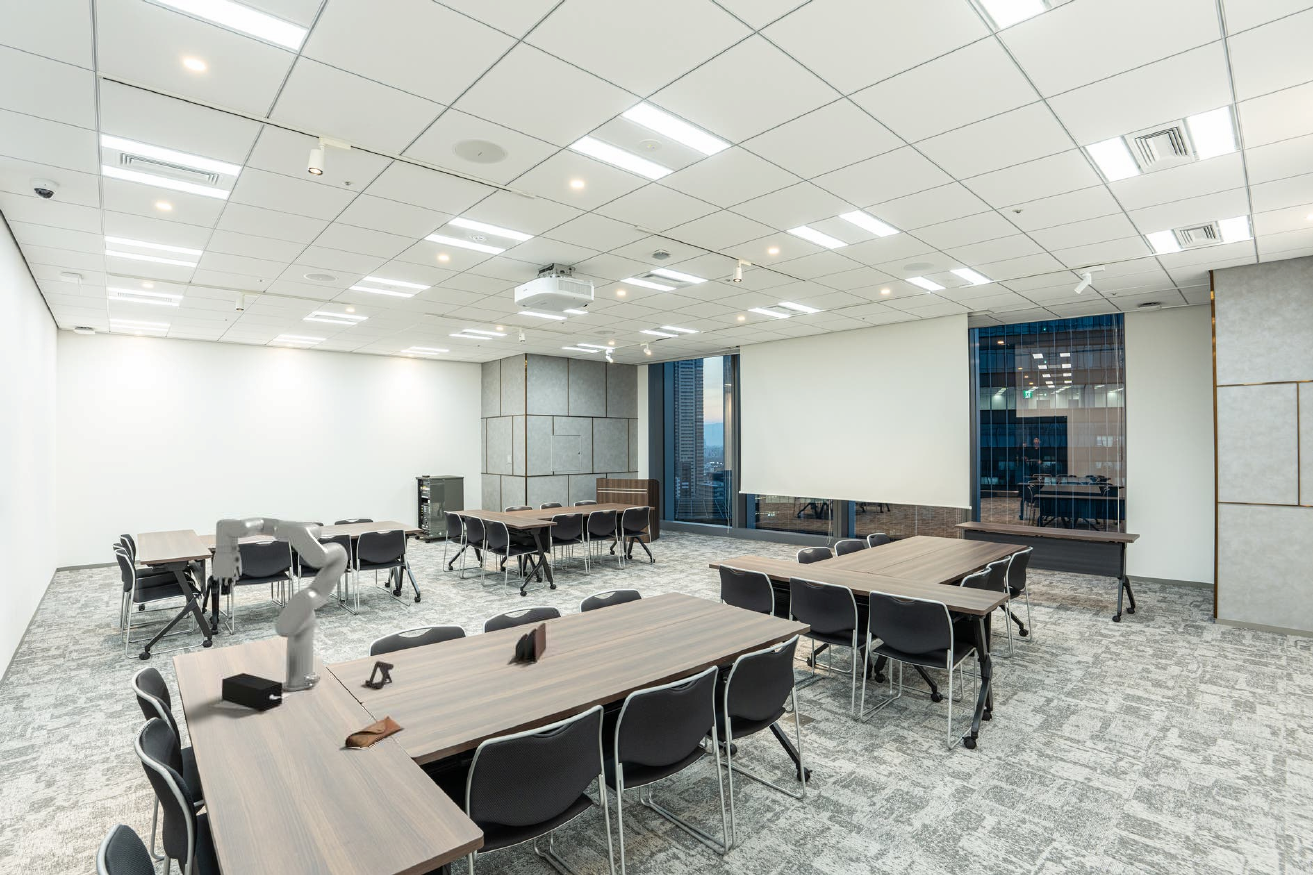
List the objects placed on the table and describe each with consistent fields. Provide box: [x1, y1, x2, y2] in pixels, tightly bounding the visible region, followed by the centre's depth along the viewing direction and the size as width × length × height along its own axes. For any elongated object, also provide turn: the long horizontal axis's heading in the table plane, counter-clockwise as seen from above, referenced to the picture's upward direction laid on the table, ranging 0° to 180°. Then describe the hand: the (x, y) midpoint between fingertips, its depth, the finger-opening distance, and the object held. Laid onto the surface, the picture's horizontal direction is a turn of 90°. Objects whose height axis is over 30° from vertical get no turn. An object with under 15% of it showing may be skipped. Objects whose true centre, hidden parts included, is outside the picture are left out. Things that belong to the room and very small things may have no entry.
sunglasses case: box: [344, 716, 405, 748], centre depth 205 cm, size 18×7×7 cm
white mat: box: [214, 693, 291, 710], centre depth 235 cm, size 20×14×1 cm
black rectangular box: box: [221, 672, 283, 712], centre depth 233 cm, size 8×8×28 cm
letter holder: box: [514, 622, 547, 663], centre depth 289 cm, size 10×20×14 cm, turn 177°
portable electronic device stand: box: [364, 660, 394, 690], centre depth 253 cm, size 9×8×8 cm
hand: (225, 594), depth 251 cm, fingers closed
